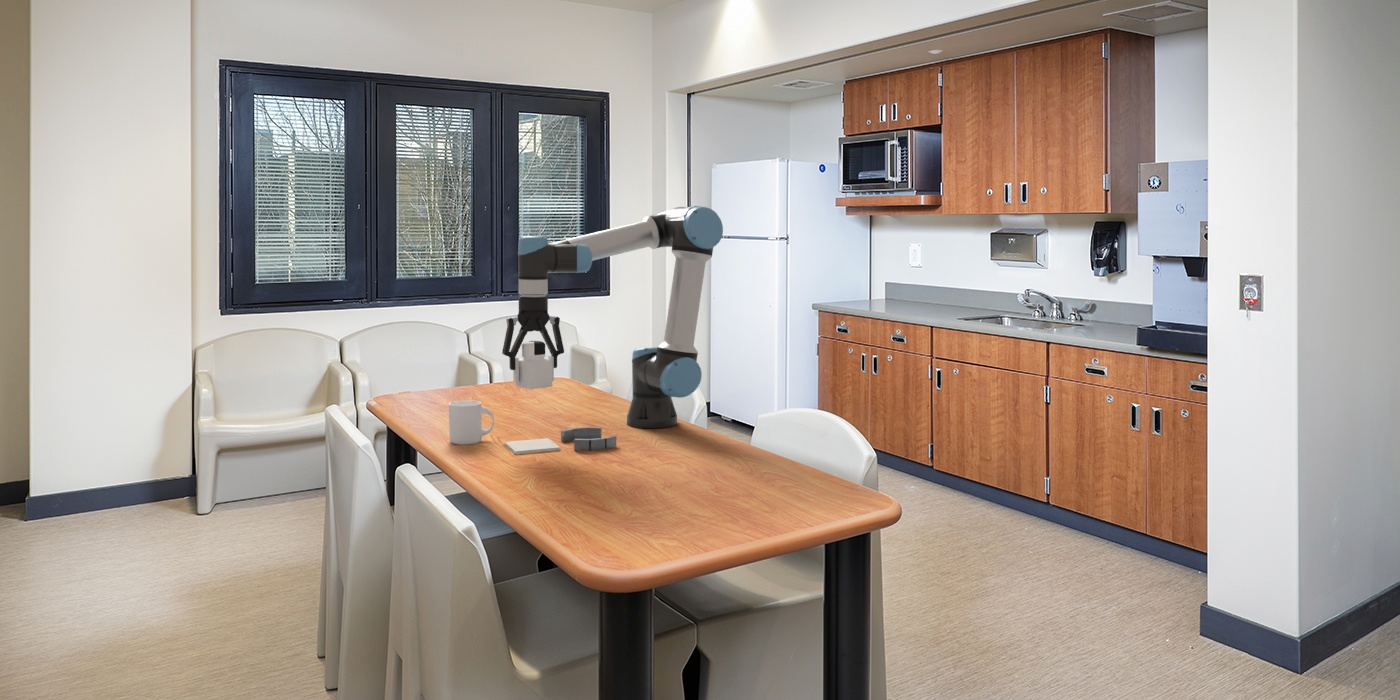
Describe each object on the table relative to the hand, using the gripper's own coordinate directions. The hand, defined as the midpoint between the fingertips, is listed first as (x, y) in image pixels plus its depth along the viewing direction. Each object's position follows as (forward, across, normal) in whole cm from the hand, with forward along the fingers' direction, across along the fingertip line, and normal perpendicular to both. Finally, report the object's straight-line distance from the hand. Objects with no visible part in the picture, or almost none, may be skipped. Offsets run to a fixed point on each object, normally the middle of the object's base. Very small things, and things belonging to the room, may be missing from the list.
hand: (533, 381), depth 254 cm
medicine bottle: (+2, 0, 0) cm, 2 cm away
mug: (+18, +13, -14) cm, 27 cm away
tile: (+18, 0, 0) cm, 18 cm away
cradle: (+18, -14, +2) cm, 23 cm away
